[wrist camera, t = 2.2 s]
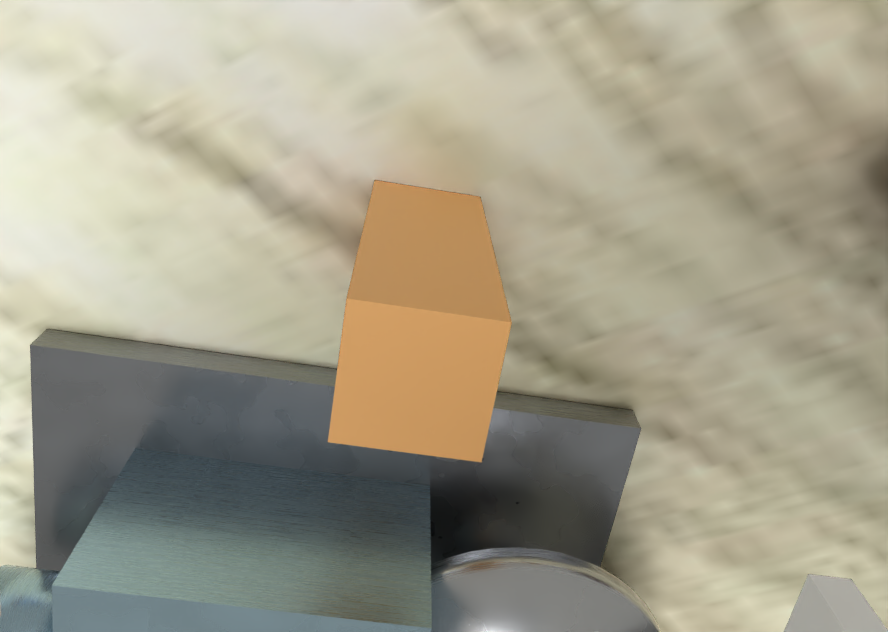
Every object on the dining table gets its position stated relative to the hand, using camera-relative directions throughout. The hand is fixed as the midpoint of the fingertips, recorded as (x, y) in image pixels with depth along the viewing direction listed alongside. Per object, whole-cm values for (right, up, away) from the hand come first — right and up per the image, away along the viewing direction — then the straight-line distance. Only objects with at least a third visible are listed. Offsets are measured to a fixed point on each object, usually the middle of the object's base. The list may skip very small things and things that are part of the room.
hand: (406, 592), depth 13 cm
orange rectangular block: (0, +7, +18) cm, 20 cm away
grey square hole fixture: (-4, -7, +24) cm, 25 cm away
